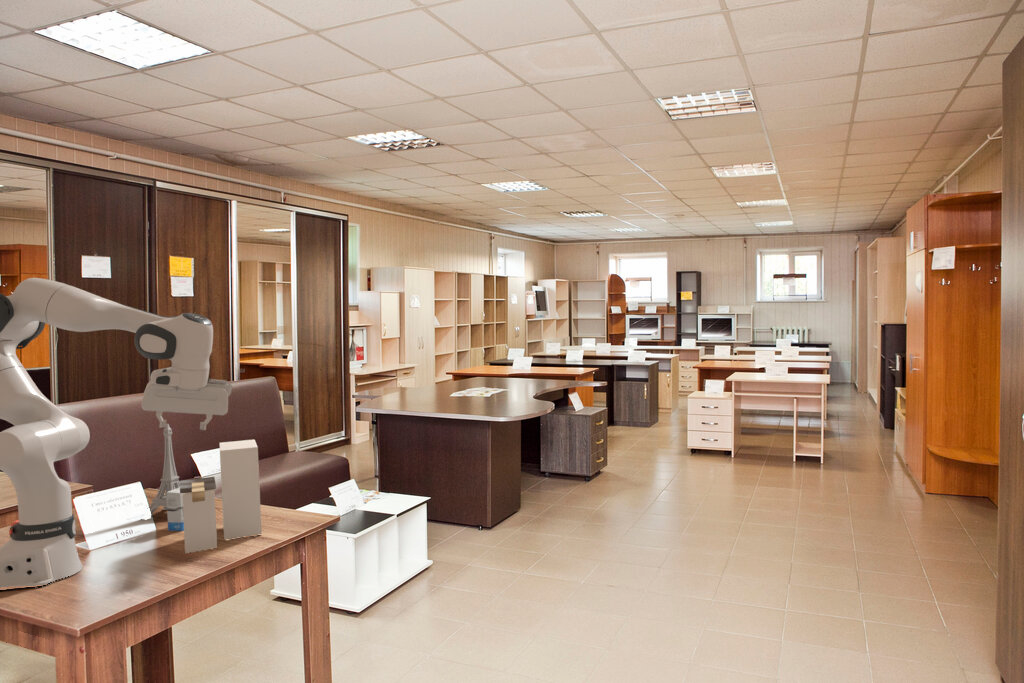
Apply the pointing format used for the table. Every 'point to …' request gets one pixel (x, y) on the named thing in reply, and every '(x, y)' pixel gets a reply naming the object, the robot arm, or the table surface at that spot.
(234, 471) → the tall stand
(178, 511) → the ink box
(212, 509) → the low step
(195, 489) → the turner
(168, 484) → the eiffel tower
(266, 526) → the table surface
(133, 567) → the table surface
